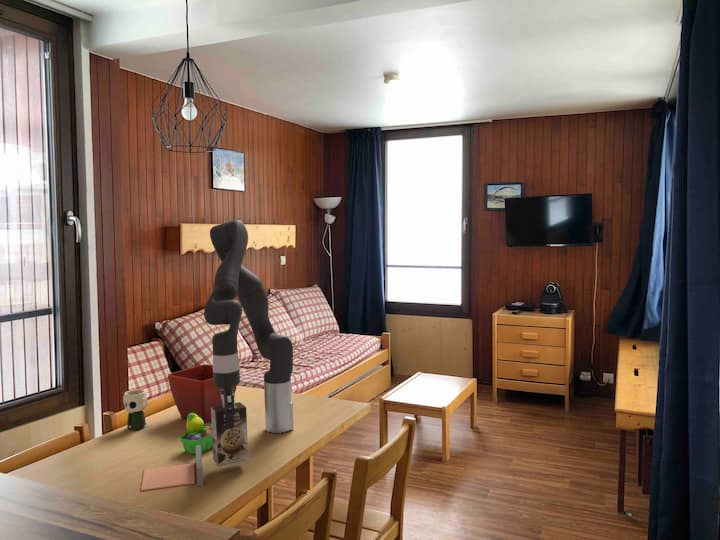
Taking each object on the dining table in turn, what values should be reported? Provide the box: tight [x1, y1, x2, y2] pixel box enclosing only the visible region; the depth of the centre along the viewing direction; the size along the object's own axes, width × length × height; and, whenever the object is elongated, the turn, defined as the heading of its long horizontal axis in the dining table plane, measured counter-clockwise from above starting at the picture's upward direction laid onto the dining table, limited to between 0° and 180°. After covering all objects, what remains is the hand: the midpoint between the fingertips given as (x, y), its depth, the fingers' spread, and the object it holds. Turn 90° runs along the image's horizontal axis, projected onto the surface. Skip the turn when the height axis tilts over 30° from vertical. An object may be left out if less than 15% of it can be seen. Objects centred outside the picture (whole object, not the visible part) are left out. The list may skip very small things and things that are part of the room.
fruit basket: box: [179, 413, 213, 455], centre depth 191 cm, size 11×9×11 cm
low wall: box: [195, 445, 204, 487], centre depth 172 cm, size 2×18×5 cm, turn 16°
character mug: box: [122, 389, 149, 430], centre depth 212 cm, size 11×7×13 cm, turn 66°
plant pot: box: [167, 364, 238, 424], centre depth 223 cm, size 19×19×17 cm
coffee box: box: [211, 402, 249, 468], centre depth 173 cm, size 9×6×16 cm
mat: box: [140, 462, 196, 492], centre depth 170 cm, size 14×14×1 cm
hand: (229, 424), depth 173 cm, fingers closed on coffee box, 7 cm apart
